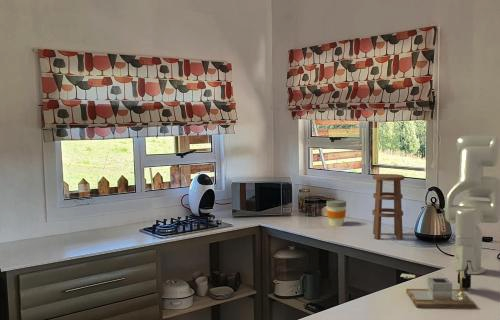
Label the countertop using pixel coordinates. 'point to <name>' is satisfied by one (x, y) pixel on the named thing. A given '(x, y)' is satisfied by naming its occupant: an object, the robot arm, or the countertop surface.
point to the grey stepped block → (439, 291)
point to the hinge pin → (461, 281)
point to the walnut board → (441, 301)
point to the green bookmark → (407, 276)
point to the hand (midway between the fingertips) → (464, 285)
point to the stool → (397, 208)
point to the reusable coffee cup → (336, 212)
